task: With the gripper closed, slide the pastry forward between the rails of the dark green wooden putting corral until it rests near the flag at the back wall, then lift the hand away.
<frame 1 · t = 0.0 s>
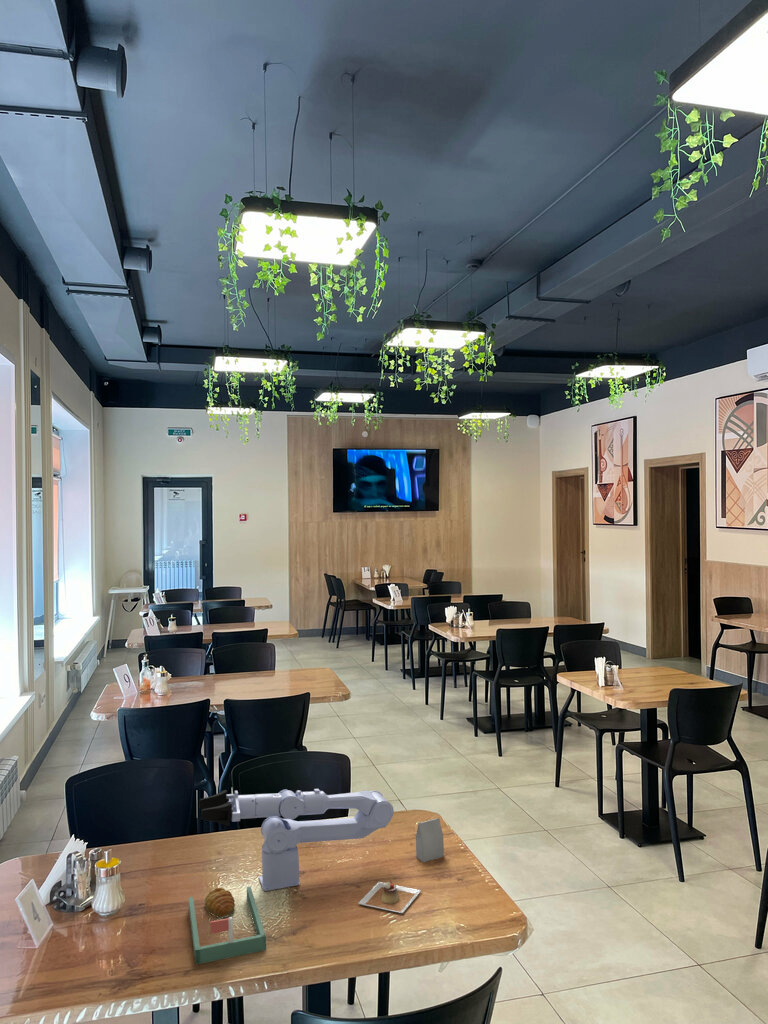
hand: (200, 809, 182), 22 cm above the table, tool horizontal, fingers open, 7 cm apart
pastry: (221, 910, 175), on the table
putting corral: (225, 928, 166), on the table
grey tall block: (430, 857, 200), on the table
dessert: (390, 902, 177), on the table
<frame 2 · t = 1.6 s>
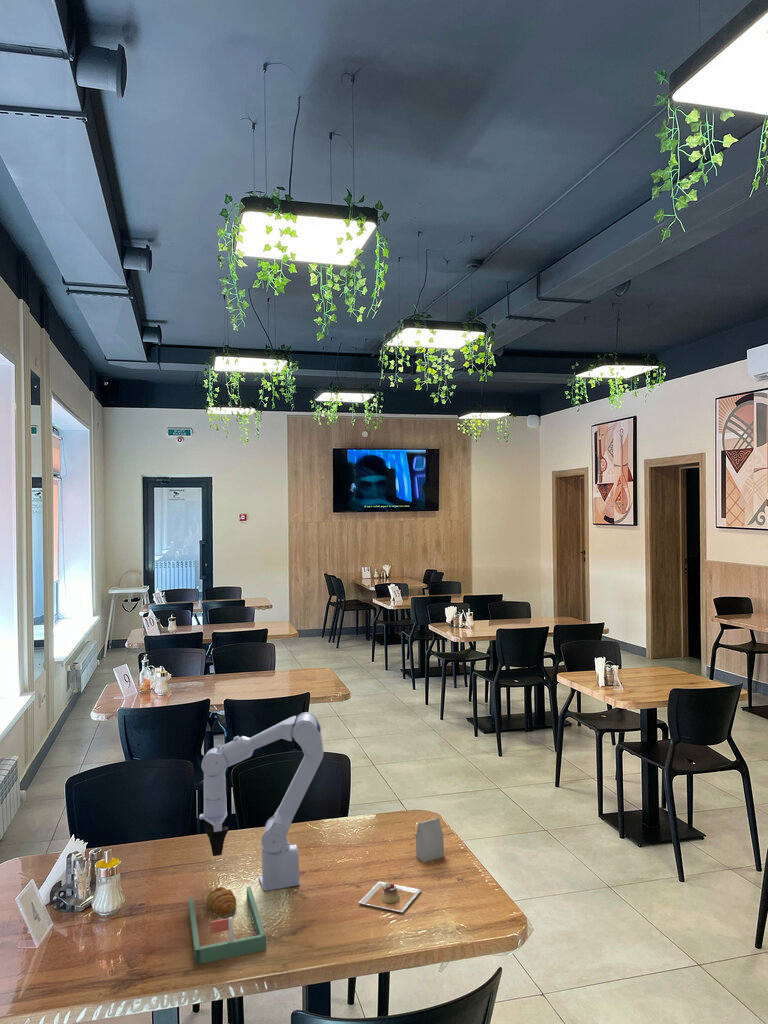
hand: (215, 849, 187), 9 cm above the table, tool pointing down, fingers open, 7 cm apart
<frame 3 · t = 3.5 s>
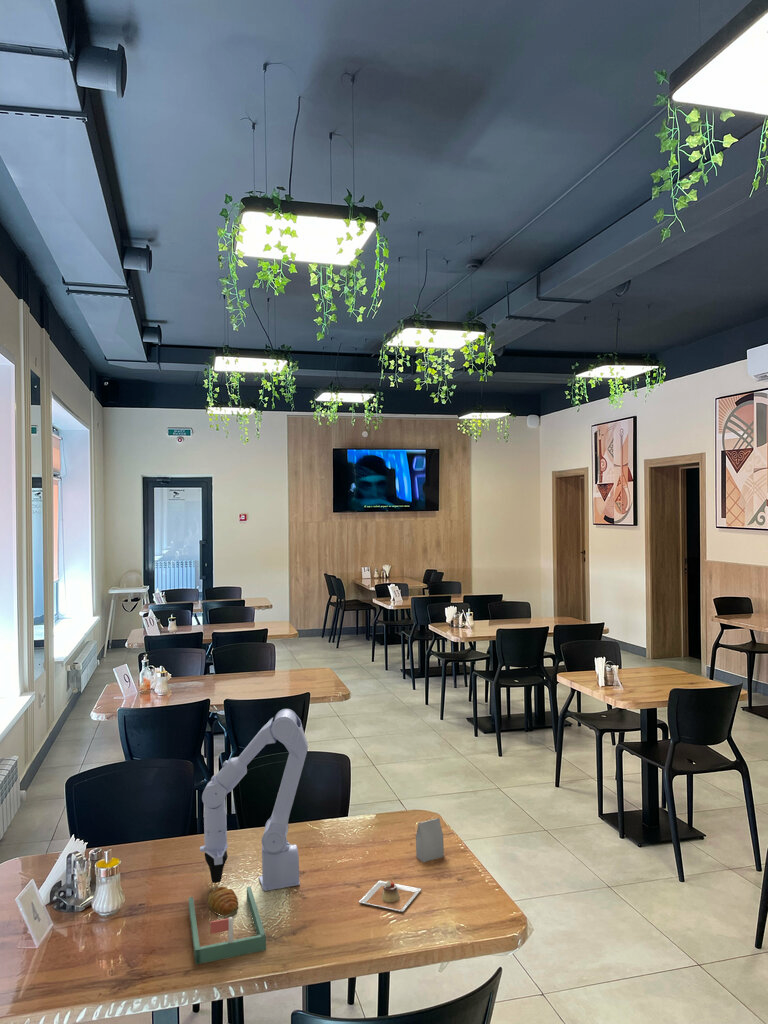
hand: (216, 881, 186), 1 cm above the table, tool pointing down, fingers closed
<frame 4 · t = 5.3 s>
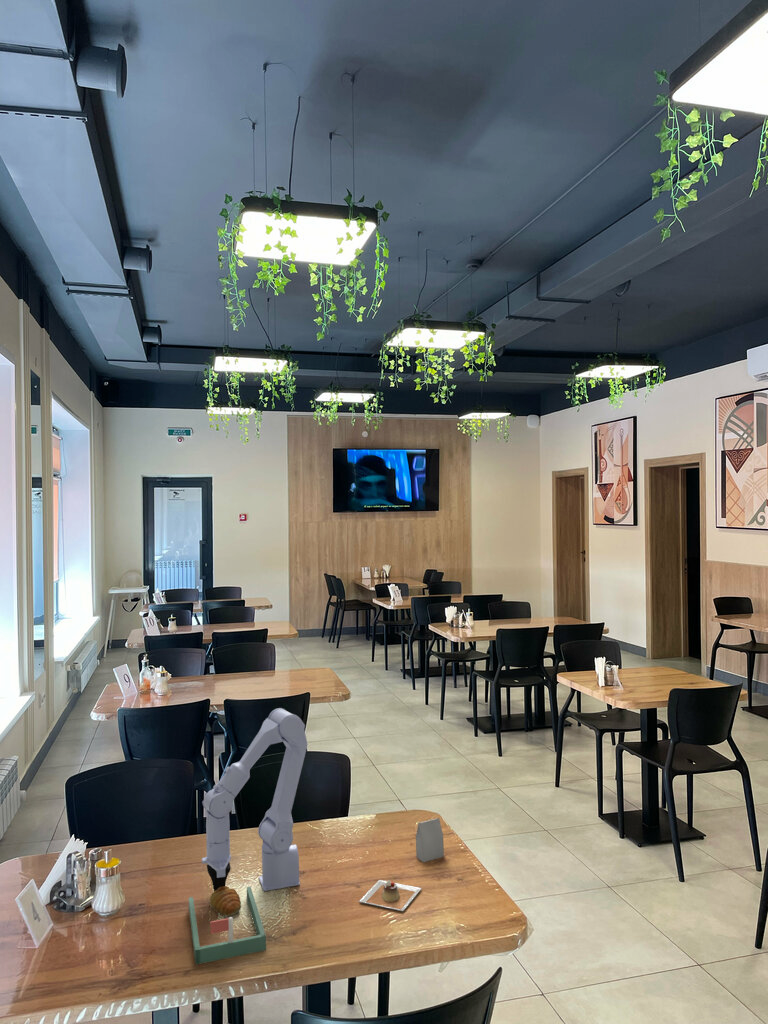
hand: (219, 894, 180), 1 cm above the table, tool pointing down, fingers closed
pastry: (227, 908, 175), on the table, touching gripper
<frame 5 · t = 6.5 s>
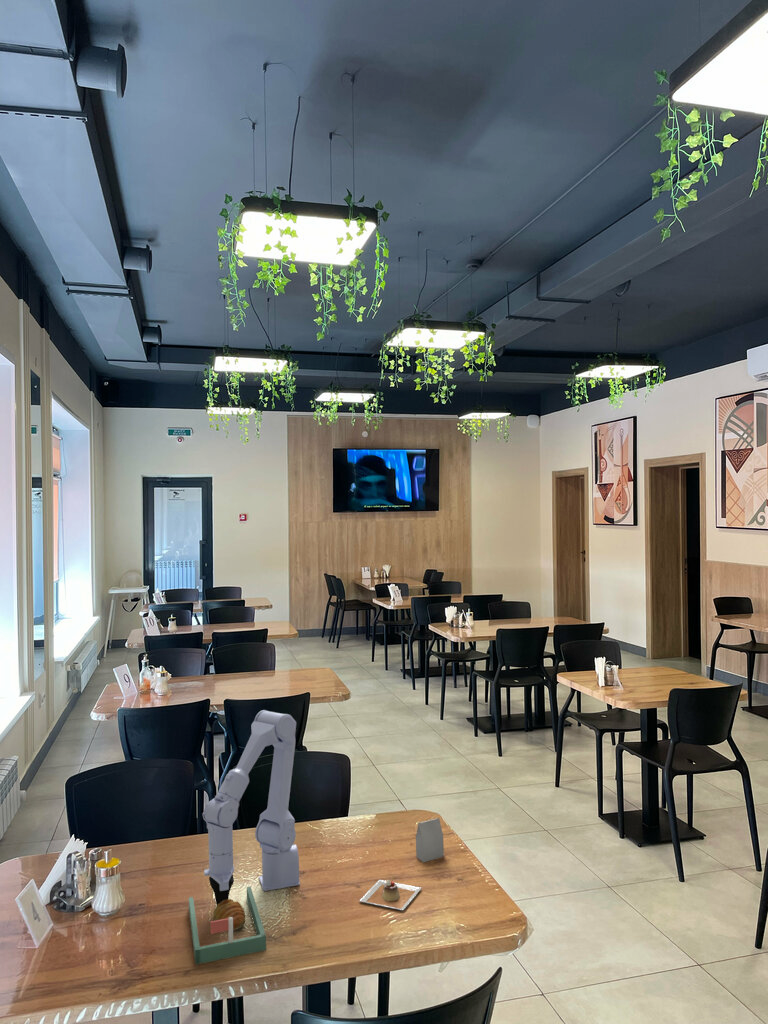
hand: (221, 907, 173), 1 cm above the table, tool pointing down, fingers closed
pastry: (231, 922, 169), on the table, touching gripper
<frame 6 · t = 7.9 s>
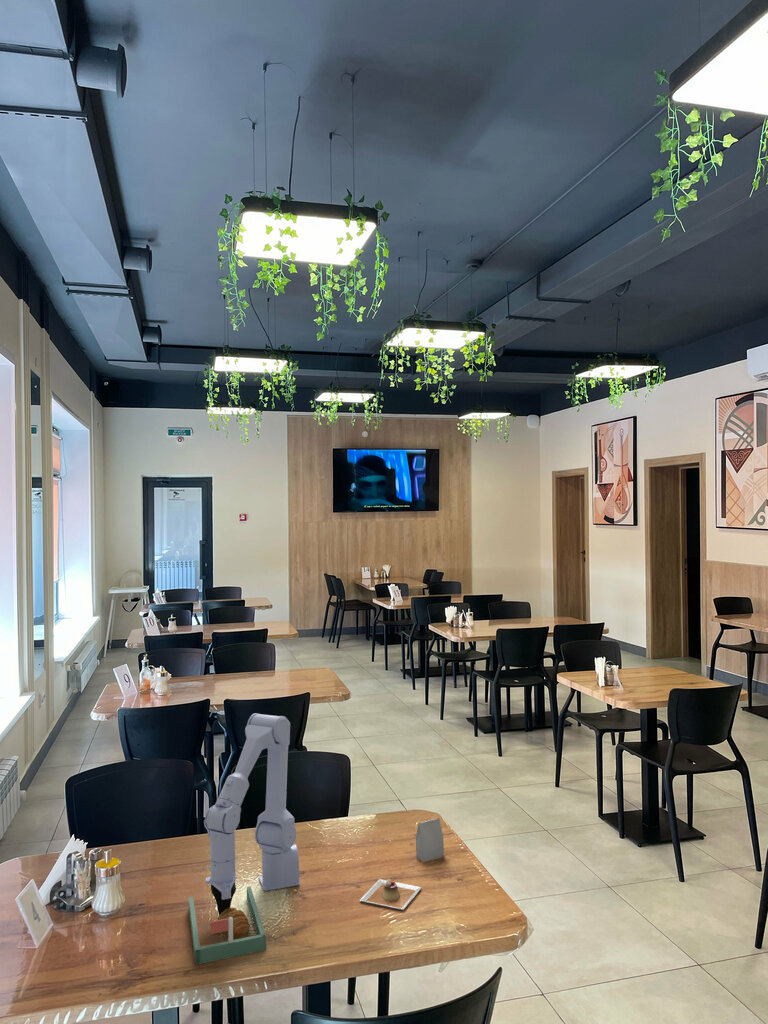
hand: (223, 916, 169), 1 cm above the table, tool pointing down, fingers closed
pastry: (234, 931, 165), on the table, touching gripper
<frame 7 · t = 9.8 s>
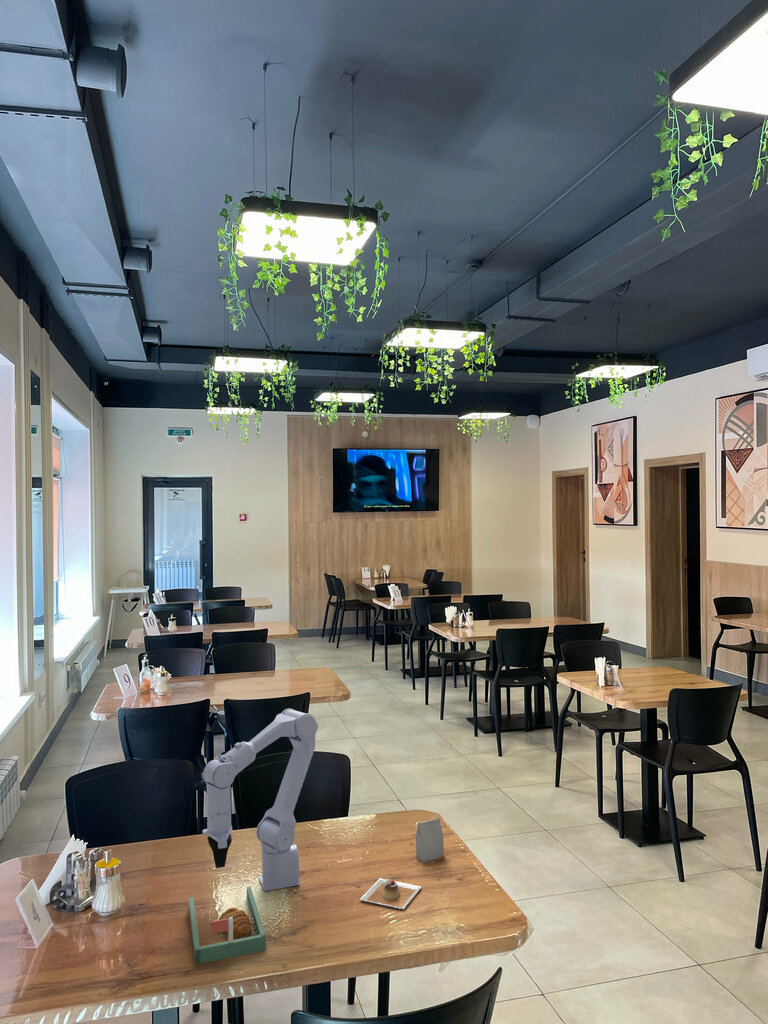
hand: (220, 866, 177), 9 cm above the table, tool pointing down, fingers closed
pastry: (236, 931, 165), on the table
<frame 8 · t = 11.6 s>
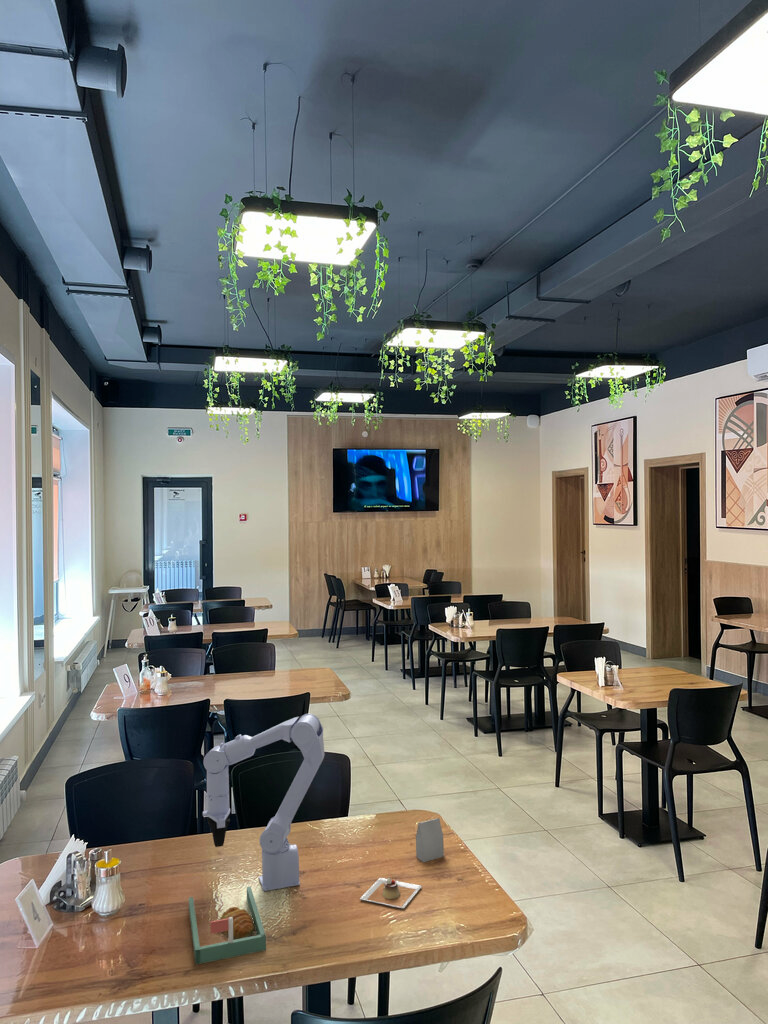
hand: (219, 845, 189), 9 cm above the table, tool pointing down, fingers closed
at the end: pastry inside the target area (4.4 cm from its centre), on the table; pastry moved 11.2 cm from its start; pastry tilted 0° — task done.
